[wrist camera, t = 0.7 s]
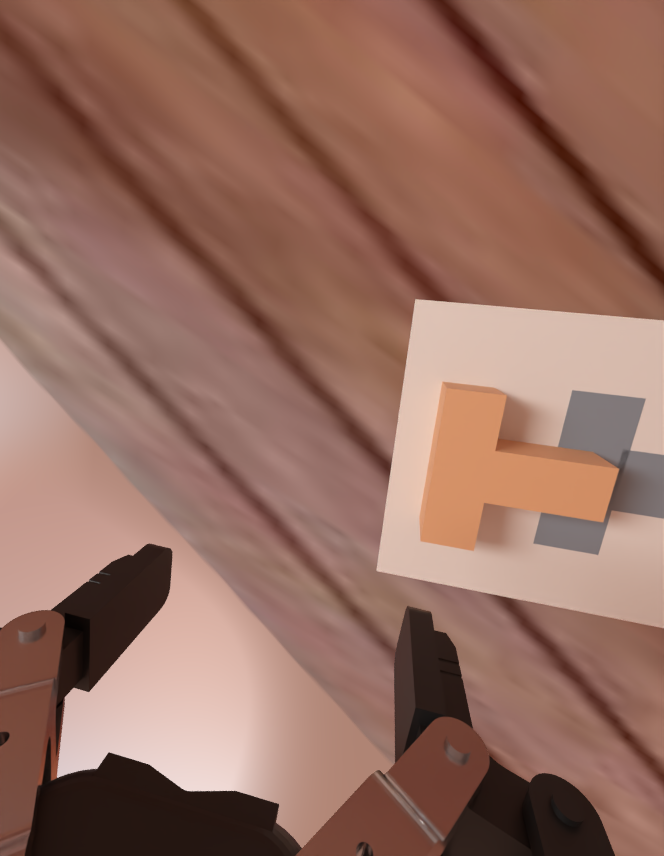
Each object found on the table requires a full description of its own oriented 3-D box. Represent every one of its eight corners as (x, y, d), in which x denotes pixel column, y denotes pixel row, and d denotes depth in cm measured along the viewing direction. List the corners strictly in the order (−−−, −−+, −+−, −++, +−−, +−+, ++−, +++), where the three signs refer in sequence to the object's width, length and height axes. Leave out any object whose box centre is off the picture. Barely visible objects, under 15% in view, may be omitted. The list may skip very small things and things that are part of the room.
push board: (874, 339, 26) (885, 339, 25) (742, 639, 32) (749, 645, 31) (415, 299, 30) (415, 299, 30) (376, 567, 37) (376, 570, 36)
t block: (606, 400, 29) (636, 411, 25) (566, 543, 32) (588, 572, 28) (442, 381, 31) (446, 388, 27) (419, 517, 34) (420, 541, 30)
